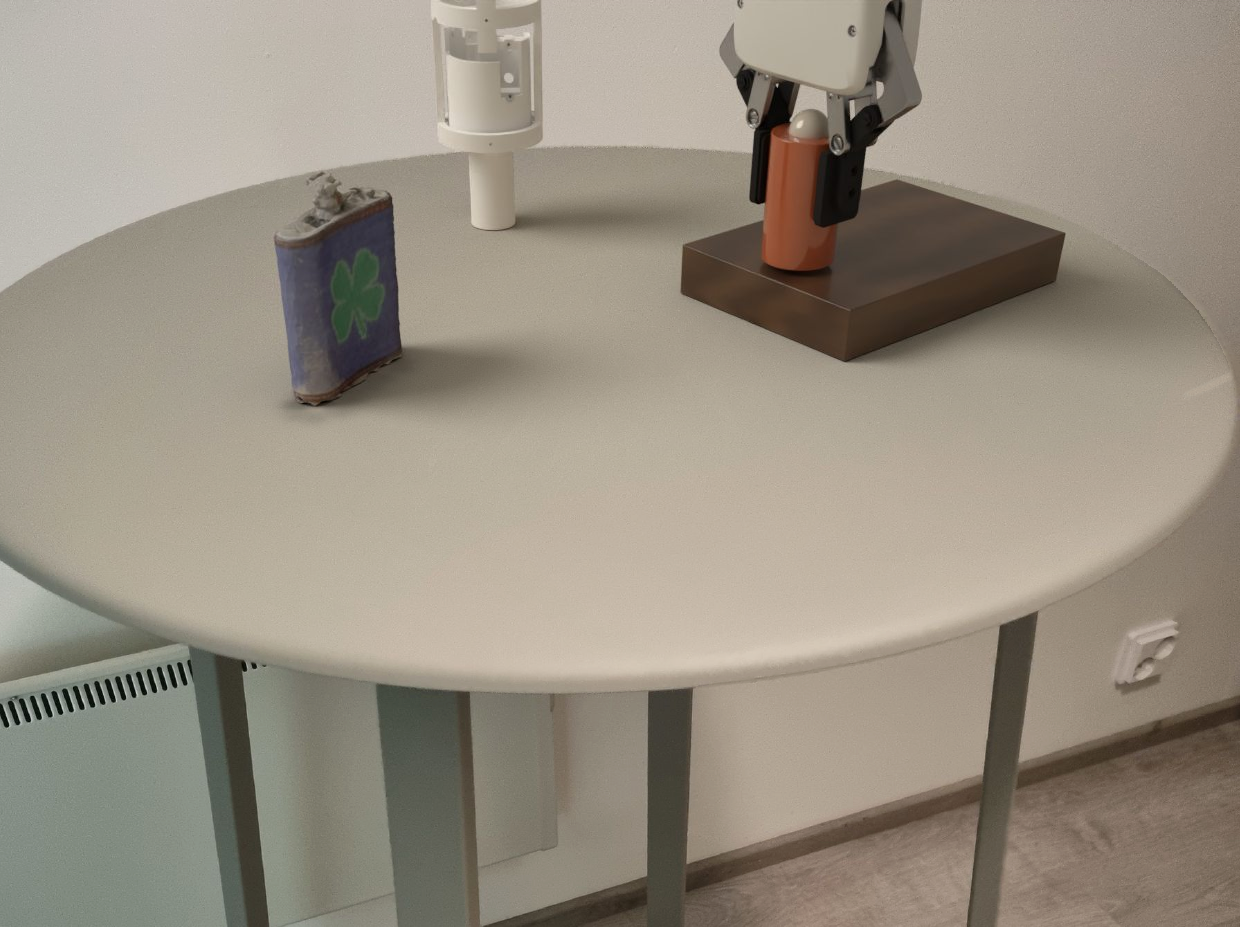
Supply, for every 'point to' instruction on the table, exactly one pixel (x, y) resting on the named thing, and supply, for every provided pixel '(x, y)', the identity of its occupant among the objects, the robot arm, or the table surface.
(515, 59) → the white cylindrical fitting
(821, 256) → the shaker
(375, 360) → the flask
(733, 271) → the board
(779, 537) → the table surface
